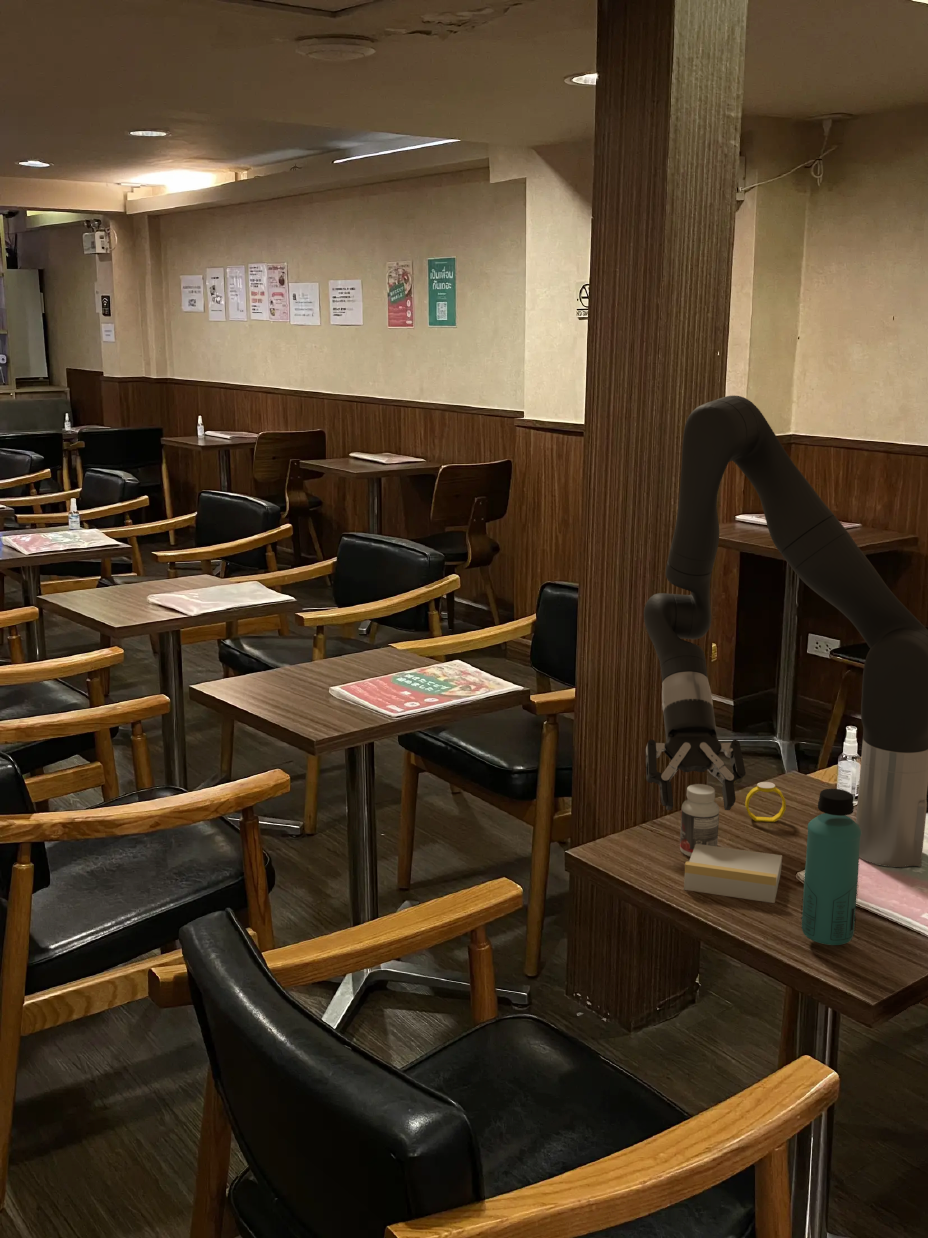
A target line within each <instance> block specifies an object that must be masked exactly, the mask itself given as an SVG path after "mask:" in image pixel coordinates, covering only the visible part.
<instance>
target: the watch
mask: <svg viewBox="0 0 928 1238" xmlns="http://www.w3.org/2000/svg"><path fill="white" fill-rule="evenodd" d="M759 792H762V793H776V794H778V795H779V796H780V798H781V808H780V809H779V811H778V813H776V814H775V815H774V816H772V817H771V816H769V817H768V816H756V815H755V814H754V813H753V812H751V809H750V800H751V799H752V797H753V796H754V795H755V794H756V793H759ZM786 803H787V802H786V798H785V797H784V795H783V792H782V791H781V790H780V789H779V788H777V787H776V784H775V783H773V782H769V781H761V782H758V783H757V784H756V786H754V787H753V788H751V789H750V790H749V792H748V793H747V794H746V797H745V803H744V806H745V809H746V811H747V814H748V816H749V817H750V818H751V819H752V820H753V821H754V822H757V823H758V822H760V823H763V822H767V823H776V822H777V821H779V820H781V818H782V817H783V816H784V814H785V812H786V809H787V807H786V806H787V804H786Z"/></svg>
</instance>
